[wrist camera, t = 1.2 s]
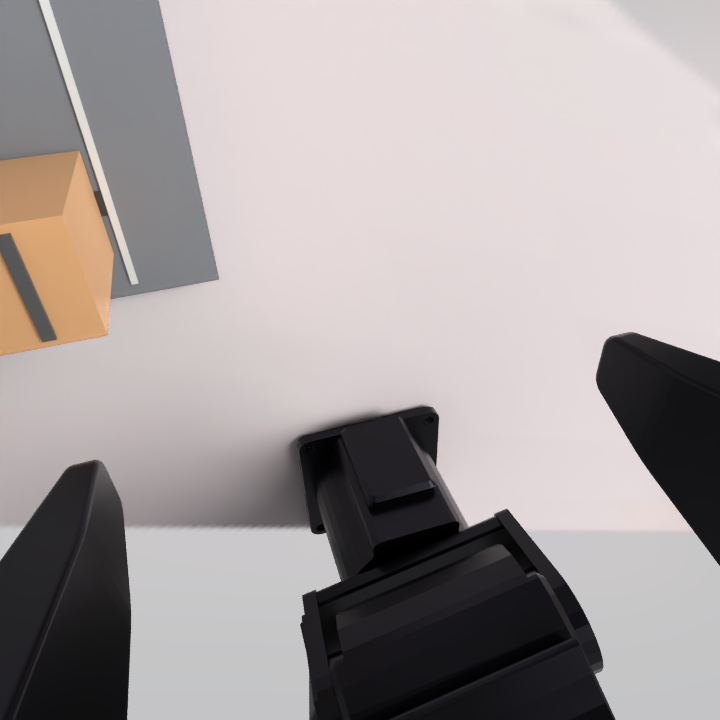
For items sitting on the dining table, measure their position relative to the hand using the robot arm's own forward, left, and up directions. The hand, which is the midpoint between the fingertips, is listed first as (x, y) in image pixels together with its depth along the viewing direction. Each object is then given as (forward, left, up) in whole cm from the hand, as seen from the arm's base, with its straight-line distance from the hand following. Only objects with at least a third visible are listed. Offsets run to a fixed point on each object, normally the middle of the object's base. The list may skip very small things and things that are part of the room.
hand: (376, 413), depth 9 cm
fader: (0, +6, -11) cm, 12 cm away
